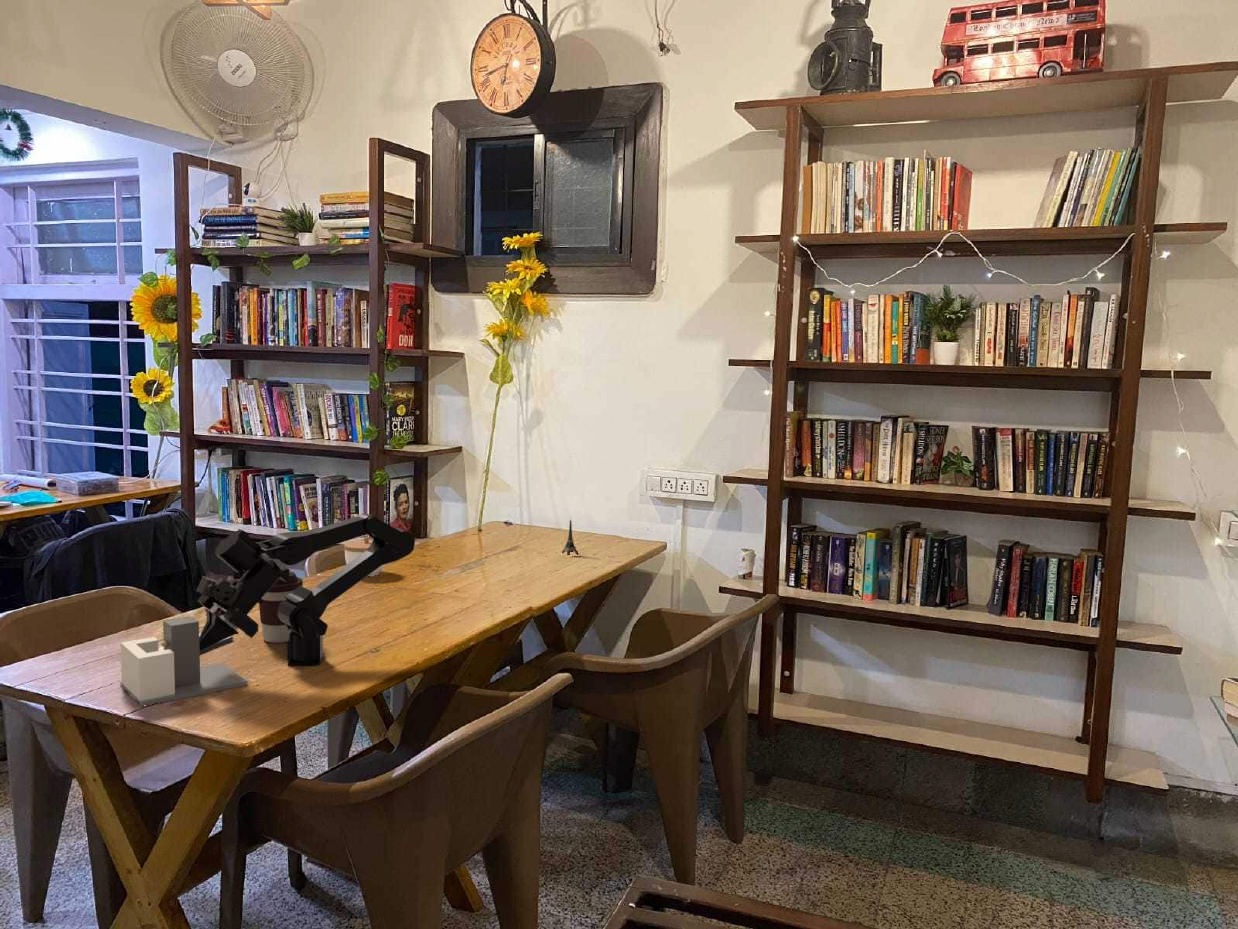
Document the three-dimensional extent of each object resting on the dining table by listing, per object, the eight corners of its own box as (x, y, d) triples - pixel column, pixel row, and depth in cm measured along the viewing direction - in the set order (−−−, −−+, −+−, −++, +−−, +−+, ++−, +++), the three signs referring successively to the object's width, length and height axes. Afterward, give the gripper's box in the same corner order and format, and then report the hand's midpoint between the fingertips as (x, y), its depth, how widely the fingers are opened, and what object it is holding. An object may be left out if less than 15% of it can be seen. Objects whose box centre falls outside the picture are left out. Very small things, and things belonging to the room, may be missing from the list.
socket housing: (221, 666, 194) (220, 624, 193) (247, 685, 184) (246, 641, 183) (120, 685, 181) (119, 641, 180) (141, 707, 171) (140, 660, 170)
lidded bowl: (392, 569, 284) (392, 533, 283) (383, 579, 272) (383, 541, 271) (350, 568, 284) (350, 532, 283) (339, 578, 271) (339, 540, 270)
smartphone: (203, 638, 215) (149, 657, 199) (203, 631, 215) (148, 650, 199) (235, 643, 212) (183, 662, 197) (235, 636, 212) (182, 655, 197)
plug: (191, 675, 186) (190, 615, 184) (200, 682, 182) (198, 621, 181) (159, 681, 182) (157, 620, 180) (167, 688, 178) (165, 626, 177)
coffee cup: (311, 634, 217) (310, 570, 216) (288, 647, 208) (287, 580, 206) (272, 631, 219) (271, 567, 218) (247, 643, 210) (246, 577, 208)
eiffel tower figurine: (596, 555, 315) (597, 515, 314) (589, 561, 305) (589, 520, 304) (553, 552, 318) (554, 513, 317) (544, 558, 309) (545, 518, 307)
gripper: (207, 553, 192) (150, 614, 186) (241, 570, 178) (180, 637, 172) (246, 586, 198) (192, 646, 192) (282, 604, 184) (225, 670, 178)
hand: (196, 649), depth 183 cm, fingers closed, pressing on plug
